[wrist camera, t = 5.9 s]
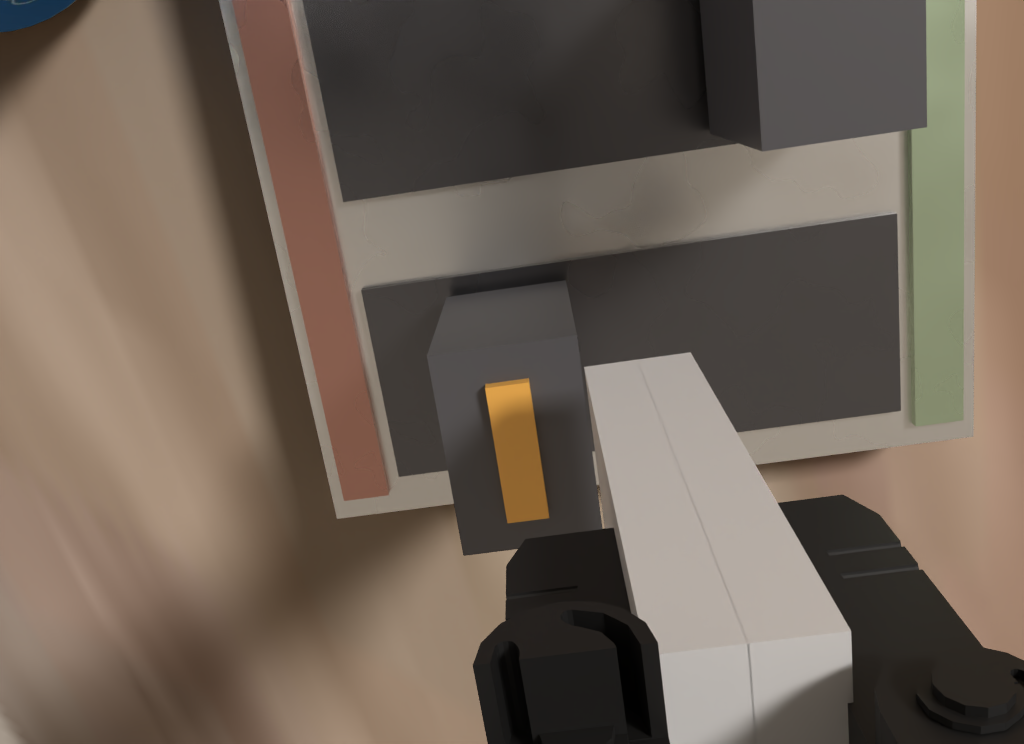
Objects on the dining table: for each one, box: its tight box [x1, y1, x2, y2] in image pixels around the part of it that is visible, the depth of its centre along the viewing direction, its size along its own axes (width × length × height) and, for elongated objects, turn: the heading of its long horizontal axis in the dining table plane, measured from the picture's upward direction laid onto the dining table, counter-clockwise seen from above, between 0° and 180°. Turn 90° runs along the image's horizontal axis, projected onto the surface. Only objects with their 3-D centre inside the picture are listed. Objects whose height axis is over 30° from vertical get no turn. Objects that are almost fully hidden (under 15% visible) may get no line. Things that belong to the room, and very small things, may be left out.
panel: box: [219, 0, 976, 519], centre depth 18 cm, size 18×14×2 cm
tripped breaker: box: [427, 280, 602, 556], centre depth 17 cm, size 4×2×4 cm, turn 8°
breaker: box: [699, 0, 927, 152], centre depth 15 cm, size 4×2×4 cm, turn 8°
